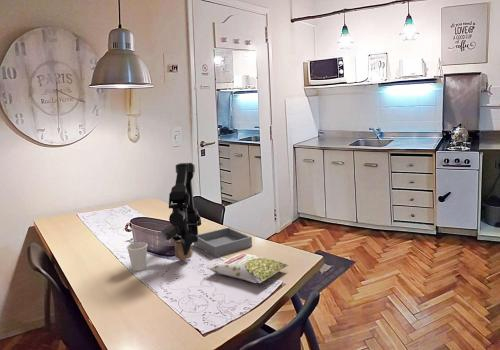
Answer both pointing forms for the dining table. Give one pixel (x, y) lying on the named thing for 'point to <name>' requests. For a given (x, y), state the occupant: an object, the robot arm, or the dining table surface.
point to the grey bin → (223, 241)
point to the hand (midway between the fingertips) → (183, 253)
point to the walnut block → (181, 251)
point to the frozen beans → (248, 267)
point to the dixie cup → (138, 255)
